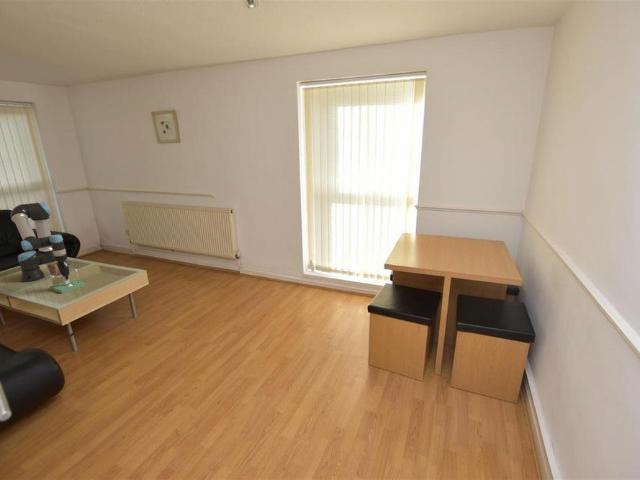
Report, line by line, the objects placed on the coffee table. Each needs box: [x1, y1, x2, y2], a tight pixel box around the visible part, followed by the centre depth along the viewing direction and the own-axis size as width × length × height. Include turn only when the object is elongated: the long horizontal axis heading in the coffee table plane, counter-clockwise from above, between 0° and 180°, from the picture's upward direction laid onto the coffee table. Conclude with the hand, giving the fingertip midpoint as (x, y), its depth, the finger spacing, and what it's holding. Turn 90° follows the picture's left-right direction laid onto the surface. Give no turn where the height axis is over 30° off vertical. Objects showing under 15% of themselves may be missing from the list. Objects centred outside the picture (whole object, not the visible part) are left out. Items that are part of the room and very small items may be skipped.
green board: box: [48, 279, 86, 294], centre depth 246 cm, size 18×16×2 cm
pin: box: [74, 265, 81, 282], centre depth 247 cm, size 4×1×14 cm, turn 63°
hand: (67, 283), depth 245 cm, fingers closed
